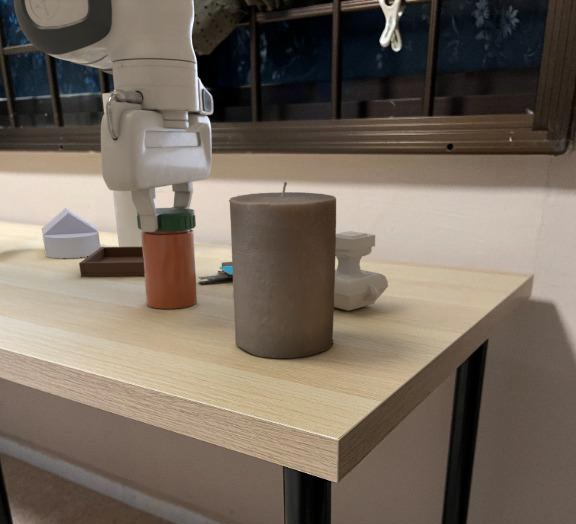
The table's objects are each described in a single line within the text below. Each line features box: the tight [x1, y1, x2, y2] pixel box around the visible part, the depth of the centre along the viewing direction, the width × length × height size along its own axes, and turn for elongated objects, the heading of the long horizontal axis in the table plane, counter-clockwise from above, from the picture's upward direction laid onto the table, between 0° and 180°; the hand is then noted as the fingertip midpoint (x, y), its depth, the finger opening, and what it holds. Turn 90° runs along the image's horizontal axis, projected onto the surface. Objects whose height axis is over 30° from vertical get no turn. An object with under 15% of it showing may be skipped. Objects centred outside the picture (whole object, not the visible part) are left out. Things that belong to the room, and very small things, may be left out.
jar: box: [141, 229, 198, 310], centre depth 72 cm, size 6×6×10 cm
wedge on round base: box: [41, 207, 101, 259], centre depth 105 cm, size 9×7×13 cm
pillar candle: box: [228, 181, 337, 359], centre depth 57 cm, size 10×10×15 cm
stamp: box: [334, 230, 389, 312], centre depth 70 cm, size 9×7×8 cm
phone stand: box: [197, 261, 233, 285], centre depth 86 cm, size 20×12×2 cm, turn 114°
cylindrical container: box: [101, 92, 158, 247], centre depth 105 cm, size 7×7×25 cm
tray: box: [78, 246, 145, 278], centre depth 93 cm, size 12×13×2 cm
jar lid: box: [137, 207, 197, 232], centre depth 70 cm, size 7×7×2 cm
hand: (167, 226), depth 71 cm, fingers closed on jar lid, 6 cm apart
